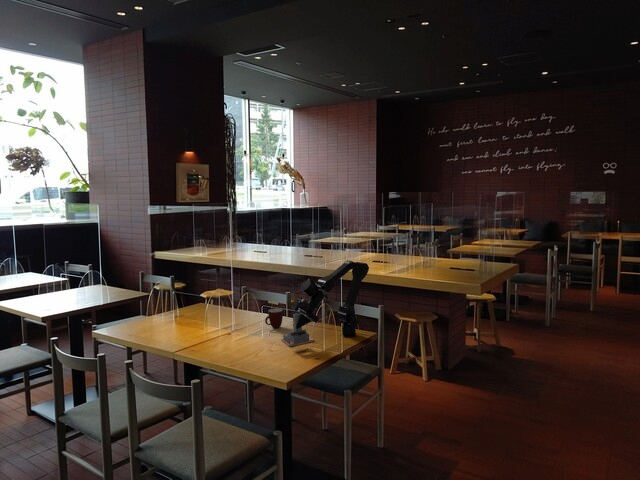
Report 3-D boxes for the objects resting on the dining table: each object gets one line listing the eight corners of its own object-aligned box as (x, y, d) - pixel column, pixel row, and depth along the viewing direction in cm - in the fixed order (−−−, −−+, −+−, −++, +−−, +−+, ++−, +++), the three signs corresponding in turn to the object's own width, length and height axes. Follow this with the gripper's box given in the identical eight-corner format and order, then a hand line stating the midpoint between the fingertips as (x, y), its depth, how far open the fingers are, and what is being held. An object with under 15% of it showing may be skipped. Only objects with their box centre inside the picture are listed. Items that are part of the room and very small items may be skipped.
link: (302, 336, 238) (300, 310, 236) (309, 340, 231) (308, 314, 229) (287, 339, 235) (285, 313, 233) (294, 344, 228) (292, 317, 226)
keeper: (305, 335, 253) (305, 328, 252) (314, 341, 244) (314, 333, 243) (281, 341, 247) (280, 333, 246) (289, 346, 238) (288, 339, 237)
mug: (271, 332, 261) (270, 314, 260) (262, 329, 267) (261, 311, 266) (286, 327, 268) (285, 310, 267) (277, 324, 274) (276, 307, 273)
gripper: (295, 288, 240) (275, 313, 236) (311, 295, 223) (291, 323, 220) (310, 300, 244) (291, 325, 241) (327, 309, 228) (307, 336, 225)
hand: (295, 327), depth 231 cm, fingers closed on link, 3 cm apart
